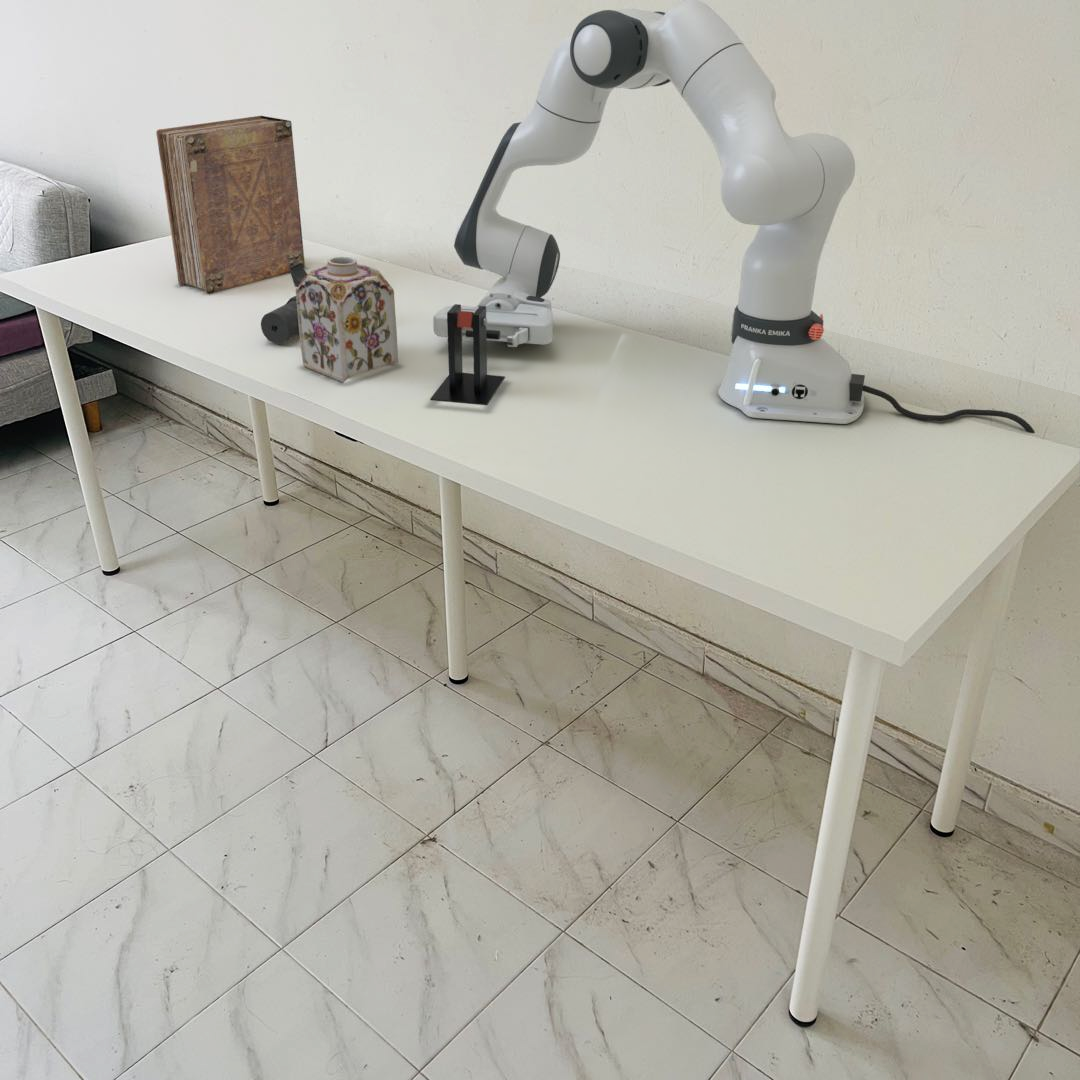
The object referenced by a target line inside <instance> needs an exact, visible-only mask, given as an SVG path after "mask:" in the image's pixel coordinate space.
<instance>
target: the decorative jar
mask: <svg viewBox="0 0 1080 1080" xmlns="http://www.w3.org/2000/svg"><path fill="white" fill-rule="evenodd" d="M326 264H327V265H324V266H320V267H317V268H314V269H311V270H310V271H309V273H308V272H307V276H306V277H305V278H304V279H303V280H302V282H301V283H300V284H299V286H298V287H296V289H295V296H296V300H297V311H298V323H299V334H298V335H299V343H300V349H301V350H300V352H301V359H302V365H303V367H304V368H307V369H309V370H311V371H313V372H316V373H319V374H320V375H323V376H325V377H329V378H331V379H333V380H336V381H338V382H341V383H345V382H346V381H347V380H348V379H349V378H350V377H353V376H356V375H359V374H362V373H365V372H369V371H372V370H374V369H379V368H382V367H383V366H386V365H390V364H394V363H398V362H399V354H398V353H399V352H398V351H399V350H398V333H397V332H398V331H397V316H396V302H395V301H396V300H395V290H394V288H393V286H392V285H390V283H389V281H387V280H386V278H385V276H383V274H382V273H381V271H380V270H378V269H376V268H374V267H371V266H367V265H365V264H358V261H357V259H356V258H354V257H349V256H335V257H332V258H329V259H327V263H326Z"/></svg>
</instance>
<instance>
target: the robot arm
mask: <svg viewBox="0 0 1080 1080" xmlns="http://www.w3.org/2000/svg"><path fill="white" fill-rule="evenodd" d="M670 82H671V83H672V85H673V86H674V88H675V89H676V90H677V92H678V93H679V95H680V97H681V98H682V99H683V101H684V102H685V103H686V105H687V106H688V108H689V109H690V111H691V112H692V114H693V115H694V116H695V118H696V120H697V121H698V122H699V124H700V125H701V127H702V128H703V129H704V131H705V133H706V134H707V135H708V137H709V139H710V141H711V143H712V145H713V147H714V150H715V153H716V154H717V157H718V161H719V164H720V166H721V170H722V177H721V180H720V196H721V201H722V204H723V206H724V208H725V210H726V211H727V214H729V216H730V217H732V218H733V219H734V220H736V222H739V223H741V224H744V225H750V226H758V229H757V231H756V234H755V236H754V237H753V239H752V241H751V243H750V245H749V246H748V247H747V249H746V251H745V252H744V254H743V258H742V261H741V270H740V281H739V291H738V300H737V305H736V307H734V311H733V314H732V322H731V332H730V336H731V349H730V354H729V358H728V362H727V366H726V369H725V373H724V376H723V379H722V382H721V384H720V387H719V388H718V390H717V391H718V392H717V393H718V396H719V398H720V399H721V400H722V401H724V402H725V403H726V404H728V405H730V406H732V407H734V408H736V409H739V410H740V411H741V412H742V413H743V414H744V415H745V416H747V417H749V418H751V419H753V418H754V419H765V420H778V421H793V422H794V421H795V422H809V423H821V424H823V423H824V424H839V425H847V424H850V423H853V422H854V421H856V420H858V419H859V418H860V417H861V416H862V414H863V412H864V409H865V408H864V407H865V397H864V394H863V392H865V393H868V394H871V395H874V396H877V397H879V398H881V399H884V400H886V401H887V402H889V403H890V404H891V405H892V407H893V408H894V409H895V410H896V411H897V412H898V413H900V414H901V415H904V416H906V417H909V418H912V419H914V420H918V421H919V420H920V421H929V422H946V421H951V420H954V419H956V418H959V417H963V416H980V417H981V416H983V417H998V418H999V417H1000V418H1004V419H1009V420H1011V421H1013V422H1015V423H1017V424H1018V425H1019V426H1021V427H1022V428H1023V429H1024V430H1025V431H1026V432H1027V433H1029V434H1035V430H1034V428H1033V427H1032V426H1031V425H1030V423H1028V422H1027V421H1026V420H1025V419H1024V418H1022V417H1020V416H1018V415H1017V414H1014V413H1013V412H1007V411H1003V410H996V409H995V410H994V409H975V408H973V409H972V408H968V409H967V408H966V409H965V408H964V409H959V410H955V411H954V412H950V413H948V414H923V413H917V412H914V411H911V410H908V409H906V408H904V407H903V406H901V404H900V403H899V402H898V401H897V399H895V398H894V396H891V394H889V393H887V392H885V391H882V390H880V389H877V388H874V387H872V386H868V385H866V384H865V378H866V375H865V374H856V373H852V370H851V366H850V363H849V361H848V360H847V359H846V358H845V357H844V356H843V355H842V354H840V353H839V352H838V351H837V350H836V349H835V348H833V346H832V345H830V344H829V343H828V342H827V341H826V340H825V339H824V338H823V334H824V332H825V331H824V330H825V329H824V315H823V313H820V315H818V314H817V313H816V312H814V311H813V300H814V293H815V288H816V281H817V274H818V267H819V263H820V260H821V259H820V258H821V256H822V252H823V249H824V246H825V243H826V240H827V238H828V235H829V233H830V229H831V226H832V224H833V221H834V218H835V216H836V214H837V210H838V208H839V205H840V203H841V201H842V200H843V198H844V196H845V194H846V193H847V192H848V191H849V189H850V187H851V185H853V182H854V179H855V175H856V161H855V157H854V154H853V152H852V150H851V148H850V146H848V144H847V143H846V142H845V141H844V140H842V139H841V138H839V137H836V136H833V135H829V134H825V133H818V132H817V133H815V132H811V133H805V134H800V135H796V136H791V135H789V134H788V133H787V131H785V129H784V128H783V125H782V123H781V121H780V119H779V116H778V113H777V110H776V106H775V103H776V96H777V93H776V88H775V85H774V84H773V83H772V81H771V80H770V79H769V77H768V76H767V74H766V73H765V72H764V70H763V69H762V67H761V66H760V65H759V63H758V61H756V59H755V57H754V56H753V55H752V53H751V52H750V51H749V49H748V48H747V47H746V45H745V44H744V43H743V41H742V40H741V39H740V37H739V36H738V35H737V33H736V32H735V31H734V30H733V29H732V28H731V26H729V24H727V22H726V21H725V20H724V19H723V18H722V17H721V16H720V15H719V14H718V13H717V12H716V11H714V9H712V8H711V7H710V6H709V5H707V3H705V2H703V1H701V0H682V1H681V2H678V3H677V4H674V5H673V6H672V7H671V8H669V9H668V10H667V11H666V12H664V11H649V10H643V9H638V8H620V9H604V10H599V11H596V12H593V13H591V14H589V15H587V16H586V17H584V18H583V19H581V20H580V22H579V23H578V24H577V25H576V27H575V29H574V31H573V33H572V35H569V36H566V37H564V38H562V39H561V40H560V41H559V42H558V43H557V45H556V47H555V48H554V50H553V53H552V55H551V57H550V60H549V62H548V64H547V66H546V68H545V71H544V74H543V76H542V79H541V82H540V84H539V88H538V91H537V94H536V98H535V102H534V104H533V107H532V109H531V111H530V112H529V114H528V115H527V116H526V118H524V119H523V120H522V121H519V122H514V123H512V124H511V125H510V126H509V128H508V129H507V130H506V132H505V133H504V134H503V136H502V138H501V140H500V142H499V143H498V146H497V148H496V150H495V151H494V154H493V156H492V158H491V160H490V161H489V165H488V166H487V169H486V171H485V174H483V178H482V180H481V181H480V184H479V186H478V188H477V191H476V194H475V195H474V197H473V199H472V202H471V205H470V206H469V208H468V210H467V212H466V214H465V215H464V217H463V218H462V220H461V221H460V223H459V225H458V227H457V229H456V232H455V236H454V243H453V247H454V249H455V252H456V254H457V256H458V257H459V259H460V261H461V262H462V264H463V265H464V266H467V267H472V268H475V269H479V270H482V271H483V270H484V271H488V272H489V273H492V274H495V275H498V276H501V277H500V278H499V279H498V280H497V281H496V282H495V283H494V285H492V287H491V288H490V290H488V291H487V292H486V294H485V295H484V296H483V297H482V298H481V300H480V301H479V302H478V304H477V306H471V305H461V311H468V312H473V313H475V311H476V310H477V309H478V308H479V307H480V306H486V318H487V326H486V330H496V331H500V339H499V340H496V339H487V341H492V342H501V343H502V342H503V343H506V346H507V347H508V348H509V347H510V348H517V347H518V345H522V344H528V345H529V344H531V345H542V346H545V345H549V344H551V343H552V341H553V331H554V330H553V329H554V328H553V327H554V325H553V324H554V323H553V321H554V316H553V315H554V314H553V307H552V301H551V300H550V299H547V298H544V296H545V295H546V294H548V292H549V291H550V289H551V287H552V285H553V283H554V281H555V279H556V276H557V273H558V270H559V266H560V260H561V252H560V248H559V245H558V242H557V240H556V238H555V236H554V235H553V234H552V233H549V232H547V231H544V230H541V229H539V228H537V227H533V226H531V225H529V224H528V225H527V224H525V223H521V222H519V221H516V220H513V219H511V218H508V217H506V216H503V215H501V214H500V213H498V211H497V208H498V207H497V206H498V204H499V203H500V200H501V199H502V196H503V194H504V191H505V190H506V188H507V185H508V183H509V181H510V179H511V177H512V174H513V173H514V172H515V171H517V170H518V169H521V168H527V167H536V166H559V165H564V164H568V163H571V162H575V161H576V160H578V159H580V158H582V157H583V156H584V155H585V154H587V152H588V151H589V150H590V149H591V147H592V146H593V143H594V141H595V138H596V136H597V133H598V131H599V128H600V125H601V122H602V118H603V114H604V111H605V108H606V104H607V101H608V99H609V97H610V95H611V93H612V91H613V90H614V89H627V90H638V89H645V88H649V87H661V86H663V85H666V84H668V83H670ZM454 305H455V304H453V305H448V306H445V307H444V308H442V309H440V310H439V311H437V312H436V313H435V314H434V315H433V319H432V320H433V321H432V324H433V325H432V326H433V327H432V328H433V334H434V335H435V336H437V337H439V338H440V337H441V338H448V327H447V312H448V311H449V310H450V309H451V308H452V307H453V306H454ZM463 339H465V340H473V338H471V337H466V330H462V341H463Z"/></svg>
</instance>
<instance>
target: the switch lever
mask: <svg viewBox="0 0 1080 1080" xmlns="http://www.w3.org/2000/svg"><path fill="white" fill-rule="evenodd" d="M473 314H474V313H473V312H468V311H459V313H458V322H457V327H458V328H460V329H461V330H466V337H471V338H473ZM486 336H487V339H496V340H499V339H500V331H496V330H486Z"/></svg>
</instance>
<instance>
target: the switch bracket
mask: <svg viewBox="0 0 1080 1080" xmlns="http://www.w3.org/2000/svg"><path fill="white" fill-rule="evenodd" d="M453 305H454V306H453ZM453 305H452V306H453V307H452V308H451V309H450V310H449V311H448V312H447V327H448V337H447V354H448V357H447V358H448V359H447V360H448V375H447V377H445V379H444V380H443V382H442V383H441V384H440V386H439V387H438V388H437V390H436V391H435V392H434V393H433V395H432V396H431V397H430V399H429V400H430V401H436V402H446V403H448V402H449V403H457V404H469V405H480V406H488V404H489V403H490V402H491V400H492V398H493V397H494V395H495V394H496V392H497V391H498V389H499V388H500V386H501V384H502V383H503V381H504V380H505V378H506V376H505V375H493V374H488V349H487V348H488V345H487V344H488V343H487V341H488V340H487V336H486V326H487V318H486V306H480V307H479V308H478V309H477V310H476V311H475V313H474V314H473V339H472V343H473V344H472V347H473V349H472V351H473V373H471V372H464V371H463V340H462V339H463V338H462V330H461V329H460V328H458V327H457V322H458V313H459V311H461V306H462V305H461V304H460V303H459V304H457V303H455V304H453Z"/></svg>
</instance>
